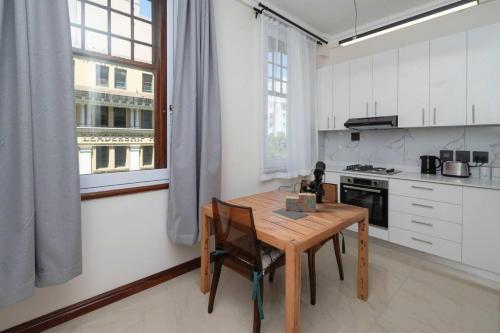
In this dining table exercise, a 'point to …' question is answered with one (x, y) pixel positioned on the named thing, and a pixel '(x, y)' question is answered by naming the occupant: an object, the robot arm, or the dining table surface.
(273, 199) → the dining table surface
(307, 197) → the stack of blocks
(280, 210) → the mat
